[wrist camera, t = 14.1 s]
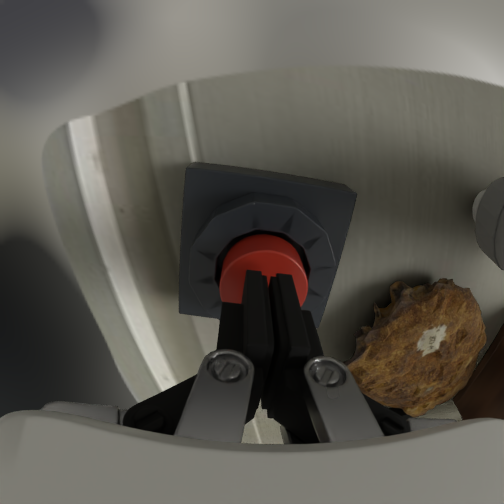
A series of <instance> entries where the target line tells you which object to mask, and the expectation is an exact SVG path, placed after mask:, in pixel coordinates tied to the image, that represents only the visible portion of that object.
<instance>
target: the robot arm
mask: <svg viewBox="0 0 504 504" xmlns="http://www.w3.org/2000/svg"><path fill="white" fill-rule="evenodd" d="M260 399H261V406H262V409H267V416H268V418H274V419H275V420H276V421H277V422H278V423H280V424H281V426H280V430H281V435H282V439H283V442H284V444H248V443H241V441H242V436H243V431H244V425H245V424H246V423H248V422H249V421H250V420H252V419H253V418H254V415H255V412H256V409H257V408H258V406H259V402H260ZM0 504H504V420H502V419H496V418H476V419H468V420H463V421H456V420H453V419H427V418H408V419H407V420H405V419H404V418H403V417H401V416H400V415H399V414H397V413H395V412H394V411H392V410H390V409H388V408H387V407H385V406H383V405H382V404H380V403H378V402H376V401H375V400H373V399H371V398H370V397H368V396H366V395H365V394H363V393H362V392H361V390H360V388H359V387H358V385H357V383H356V381H355V379H354V377H353V375H352V374H351V372H350V370H349V369H348V367H347V366H346V365H345V364H344V363H342V362H341V361H340V360H337V359H335V358H333V357H329V356H324V354H323V351H322V347H321V344H320V341H319V337H318V334H317V330H316V327H315V324H314V320H313V317H312V314H311V312H310V311H309V310H301V307H300V303H299V299H298V295H297V292H296V288H295V284H294V280H293V277H292V275H290V274H281V273H277V274H276V276H275V277H274V276H271V277H270V281H269V286H268V281H267V276H265V275H262V272H261V271H256V270H246V275H245V281H244V288H243V294H242V301H241V304H239V303H231V302H222V308H221V316H220V325H219V333H218V342H217V350H216V351H213V352H210V353H209V354H208V355H206V356H205V357H204V359H203V361H202V363H201V365H200V368H199V370H198V373H197V374H196V375H195V376H193V377H191V378H189V379H187V380H185V381H183V382H181V383H179V384H177V385H175V386H173V387H171V388H169V389H167V390H165V391H163V392H161V393H159V394H157V395H155V396H153V397H151V398H149V399H146V400H144V401H142V402H140V403H138V404H136V405H134V406H133V407H131V408H130V409H129V410H121V409H119V408H118V406H108V405H93V404H82V403H73V402H64V401H53V402H50V403H48V404H46V405H45V406H44V407H43V408H42V409H41V410H25V411H17V412H12V413H9V414H6V415H5V416H3V417H2V418H0Z"/></svg>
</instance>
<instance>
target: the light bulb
mask: <svg viewBox="0 0 504 504" xmlns="http://www.w3.org/2000/svg"><path fill="white" fill-rule="evenodd" d="M473 218H474V221H475V233H476V239H477V243H478V245H479V247H480V248H481V250H482V251H483V252H484V253H485V254H486V255H487V256H488V257H489V258H490V259H491V260H492V261H493V262H494V263H495V264H496V265H497V266H498V267H499V268H500V269H501V270H504V177H501V178H499V179H497V180H495V181H494V182H492V183H491V184H490V186H489V187H488V188H487V189H486V190H483V191H481V192H480V193H479V194H478V195H477V197H476V198H475V200H474V204H473Z"/></svg>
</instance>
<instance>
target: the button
mask: <svg viewBox="0 0 504 504" xmlns="http://www.w3.org/2000/svg"><path fill="white" fill-rule="evenodd" d="M246 270H256V271H261V272H262V275H265V276H267V281H268V286H269V281H270V277H271V276H274V277H275V276H276V274H277V273H281V274H290V275H292V277H293V280H294V284H295V288H296V292H297V295H298V299H299V303H300V307H301V306H302V305H303V303H304V301H305V299H306V296H307V292H308V280H307V276H306V273H305V270H304V267H303V264H302V262H301V259H300V256H299V254H298V252H297V251H296V249H295V248H294V247H293V246H292V245H291V244H290V243H289V242H287V241H286V240H284V239H282V238H280V237H277V236H273V235H267V234H258V235H252V236H249V237H246V238H244V239H242V240H240V241H239V242H237V243H236V244H235V245H233V247H232V248H231V249H230V250H229V251H228V253H227V254H226V256H225V259H224V261H223V266H222V272H221V278H220V284H219V291H220V297H221V300H222V302H231V303H239V304H241V301H242V294H243V288H244V281H245V275H246Z"/></svg>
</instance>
